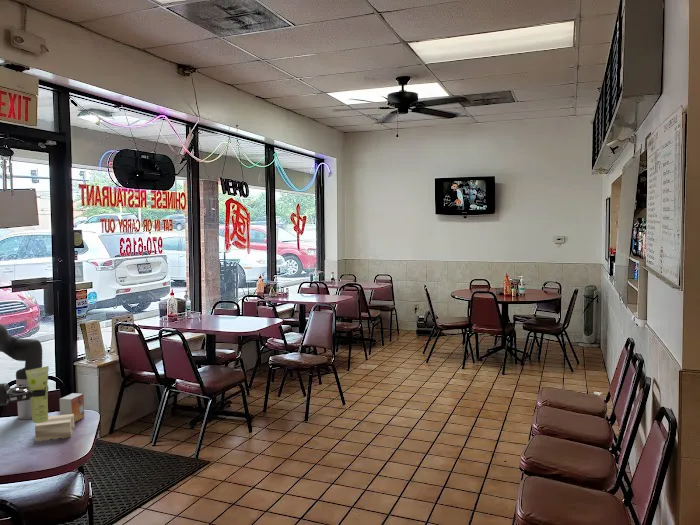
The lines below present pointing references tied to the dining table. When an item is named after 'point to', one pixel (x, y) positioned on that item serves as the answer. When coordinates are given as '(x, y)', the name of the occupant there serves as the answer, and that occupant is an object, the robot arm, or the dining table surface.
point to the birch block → (55, 427)
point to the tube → (39, 404)
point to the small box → (73, 405)
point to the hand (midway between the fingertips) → (46, 390)
